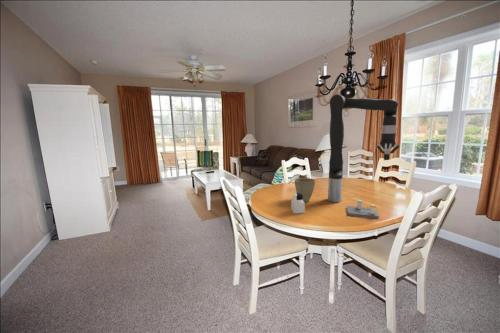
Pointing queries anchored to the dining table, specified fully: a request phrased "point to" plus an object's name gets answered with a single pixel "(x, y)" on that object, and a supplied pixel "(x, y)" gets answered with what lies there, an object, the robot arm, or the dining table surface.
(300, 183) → the plant pot
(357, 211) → the console
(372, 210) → the fader
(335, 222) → the dining table surface
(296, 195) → the medicine bottle
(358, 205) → the block
